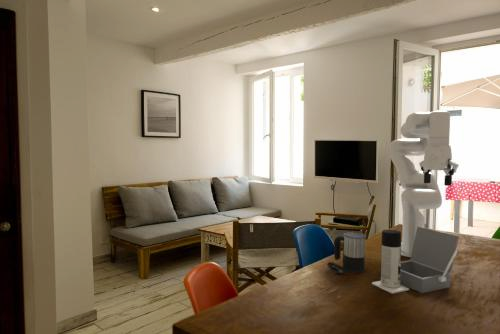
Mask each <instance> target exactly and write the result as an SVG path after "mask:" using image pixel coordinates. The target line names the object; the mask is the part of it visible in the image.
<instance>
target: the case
mask: <svg viewBox="0 0 500 334" xmlns="http://www.w3.org/2000/svg"><path fill="white" fill-rule="evenodd" d="M459 238H460V237H459V236H457V235H454V234H450V233H446V232H442V231H439V230H438V231H437V230H432V229H429V228H425V227H424V228H421V227H417V231H416V236H415V240H414V245H413V249H412V254H411V257H409V258H410V259H409V260H403V261H401V267H400V285H402V286H404V287H407V288H409V289H411V290H414V291H416V292H417V293H420V294H425V293H430V292H434V291H435V292H436V291H438V290H445V289H449V288H450V287H451V286H450V285H451V276H452V270H453V266H454V261H455V258H456V255H457V253H458V250H457V248H458V243H459Z"/></svg>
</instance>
